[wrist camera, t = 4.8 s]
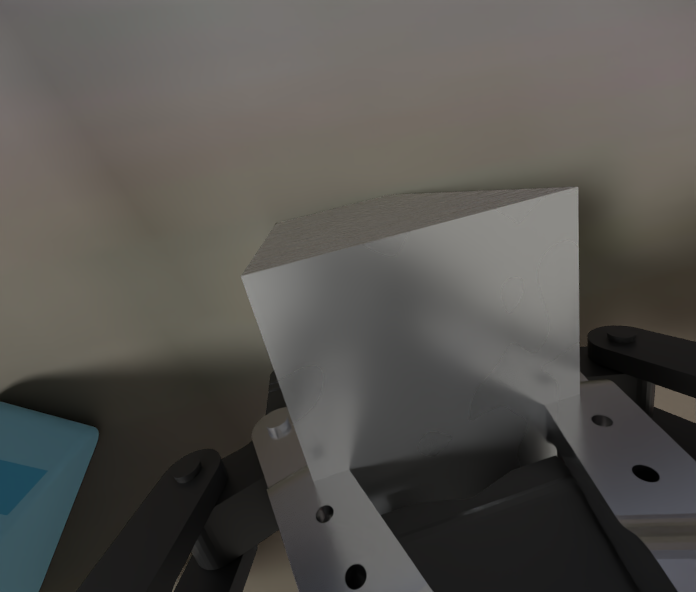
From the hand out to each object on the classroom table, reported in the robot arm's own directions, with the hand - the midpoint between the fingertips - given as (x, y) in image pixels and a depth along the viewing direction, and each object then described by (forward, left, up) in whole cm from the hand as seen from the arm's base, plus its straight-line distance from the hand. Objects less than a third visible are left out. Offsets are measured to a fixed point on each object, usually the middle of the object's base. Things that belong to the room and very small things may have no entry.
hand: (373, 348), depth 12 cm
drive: (0, 0, -2) cm, 2 cm away
